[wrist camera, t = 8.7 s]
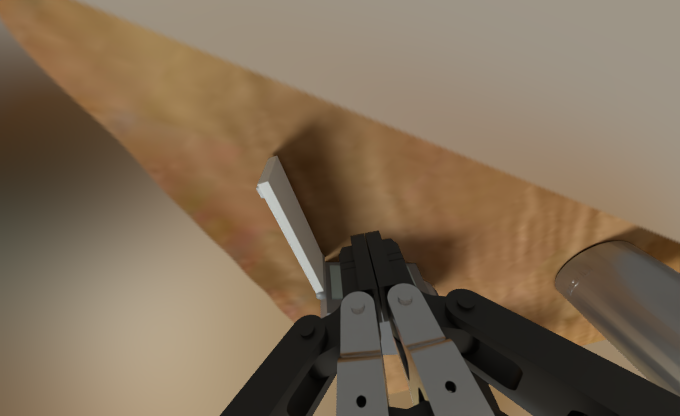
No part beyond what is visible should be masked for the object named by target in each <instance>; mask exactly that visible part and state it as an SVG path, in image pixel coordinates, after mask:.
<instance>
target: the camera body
mask: <svg viewBox="0 0 680 416" xmlns="http://www.w3.org/2000/svg"><path fill="white" fill-rule="evenodd" d="M406 266H407V268H408V271H409V273H410V275H411V278H412V280H413V282H414V284H415V286H416V287H417V288H418V289H419V290H421V291H422V292H424V293H426V294H430V295H435V296H439V295H438V293H437V291H436V290H435V289H434V288H433V287H432V285H431V284H430V283H429V282H426V281H424V280H423V278H422V276H421V274H420V272H419V270H418V268H417V266H416V264H415V263H406ZM325 272H326V292H327V297H326V298H325V299H321V319H322V318H323V317H325V316H327V315H329V314H331V313H333V312H334V311H335V310H337V308H338V307H339V306H340V304H341V302H342V298H343V293H342V283H341V272H340V262H325ZM380 308H381V307H380ZM381 314H382V311H381ZM382 321H383V322H382V323H379V324H380V330H381V346H382V353H383V355H393V354H398V353H397V350H396V347H395V344H394V341H393V338H392V330H391V326H390V323H389V321H387V322H384V319H383V315H382Z"/></svg>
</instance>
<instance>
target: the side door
mask: <svg viewBox="0 0 680 416" xmlns="http://www.w3.org/2000/svg"><path fill="white" fill-rule="evenodd" d="M257 185H258V186H257V188H256V189H257V191H258V192H259V194H260V196H261V198H265V200H266V202H267V203H268V205H269V207H270V209H271V211H272V213H273V215H274V216H275V218H276V220H277V222H278V224H279V226H280V228H281V229H282V231H283V233H284V235H285V237H286V239H287V240H288V242H289V244H290V246H291V248H292V250H293V252H294V253H295V255H296V257H297V259H298V261H299V263H300V265H301V266H302V268H303V270H304V272H305V274H306V276H307V277H308V279H309V281H310V283H311V285H312V287H313V289H314V290H315V292H316V297H317V299H325V298H326V297H327V292H326V272H325V256H324V255H323V254H322V253H321V251H320V248H319V246H318V244H317V242H316V240H315V238H314V235H313V233H312V231H311V229H310V227H309V224H308V222H307V220H306V218H305V216H304V213H303V211H302V209H301V207H300V205H299V202H298V200H297V198H296V196H295V194H294V191H293V189H292V187H291V185H290V183H289V180H288V178H287V176H286V174H285V172H284V170H283V167H282V165H281V163H280V161H279V159H278V156H274V157H271V158H269V159H268V161H267V163H266V166H265V168H264V170H263V173H262V175H261V177H260V179H259V182H258V184H257Z"/></svg>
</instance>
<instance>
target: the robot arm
mask: <svg viewBox="0 0 680 416" xmlns="http://www.w3.org/2000/svg"><path fill="white" fill-rule="evenodd" d="M350 237H351V243H352V246H348V247H342V249H341V251H340V254H339V262H340V272H341V283H342V293H343V298H342V302H341V304H340V306H339V307H338V308H337V310H335V311H334V312H333V313H331V314H329V315H327V316H325V317H323V318H322V319H321V318H320V317H319V316H316V315H306V316H304V317H301V318H300V319H299V320H297V321H296V322H295V323H294V325H293V326H292V327H291V328H290V330H289V331H288V332H287V333H286V335H285V336H284V337H283V338H282V339H281V341H280V342H279V343H278V344H277V346H276V347H275V348H274V349H273V351H272V352H271V353H270V354H269V356H268V357H267V358H266V359H265V360H264V362H263V363H262V364H261V365H260V367H259V368H258V369H257V370H256V372H255V373H254V374H253V375H252V376H251V378H250V379H249V380H248V382H247V383H246V384H245V385H244V387H243V388H242V389H241V390H240V391H239V393H238V394H237V395H236V396H235V397H234V399H233V400H232V401H231V402H230V404H229V405H228V406H227V407H226V409H225V410H224V411H223V412H222V414H221V415H220V416H313V414H314V412H315V410H316V409H317V407H318V405H319V404H320V402H321V400H322V398H323V397H324V395H325V393H326V392H327V390H328V388H329V386H330V385H331V383H332V381H333V379H334V378H335V376H336V374H337V406H336V407H337V408H336V413H337V414H336V416H508V415H507V414H505V413H504V412H502V411H500V410H499V409H497V408H495V407H493V406H491V405H489V404H488V402H487V401H486V399H485V397H484V395H483V393H482V392H481V390H480V388H479V386H478V384H477V383H476V381H475V379H474V377H473V375H472V374H471V372H470V370H471V371H472V372H474V373H475V374H476V375H478V376H479V377H481V378H482V379H483V380H485V381H486V382H487V383H489V384H490V385H492V386H493V387H494V388H496V389H497V390H498V391H500V392H501V393H503V394H504V395H505V396H507V397H508V398H509V399H511V400H512V401H514V402H515V403H516V404H518V405H519V406H521V407H522V408H523V409H525V410H526V411H527V412H529V413H530V414H531V415H533V416H680V273H678V272H677V271H675V270H674V269H672V268H670V267H669V266H667V265H666V264H664V263H662V262H661V261H659V260H657V259H656V258H654V257H652V256H651V255H649V254H647V253H646V252H644V251H642V250H641V249H639V248H638V247H636V246H634V245H633V244H631V243H629V242H625V241H612V242H606V243H603V244H599V245H597V246H594V247H592V248H589V249H587V250H586V251H584V252H582V253H580V254H579V255H577V256H576V257H574V258H573V259H572V260H570V261H569V262H568V263H567V264H566V265H565V266H564V267H563V268H562V269H561V270H560V272H559V273H558V275H557V277H556V280H555V287H556V289H557V290H558V291H559V292H560V293H561V294H562V295H563V296H564V297H565V298H566V299H567V300H568V301H569V302H570V303H571V304H572V305H573V306H574V307H575V308H576V309H577V310H578V311H579V312H580V313H581V314H582V315H583V316H584V317H585V318H586V319H587V320H588V321H589V322H590V323H591V324H592V325H593V326H594V327H595V328H596V329H597V330H598V331H599V332H600V333H601V334H602V335H603V336H604V337H605V338H606V339H607V340H608V341H609V342H610V343H611V344H612V345H613V346H614V347H615V348H616V349H617V350H618V351H619V352H620V353H621V354H622V355H623V356H624V357H625V358H626V359H627V360H628V361H629V362H630V363H631V364H632V365H633V366H635V368H637V369H638V370H639V371H640V372H641V373H642V374H643V375H644V376H645V377H646V378H647V379H648V380H649V381H648V380H646V379H644V378H642V377H640V376H638V375H636V374H634V373H632V372H630V371H628V370H626V369H624V368H622V367H620V366H618V365H617V364H615V363H613V362H611V361H609V360H607V359H605V358H602V357H601V356H598V355H597V354H595V353H593V352H591V351H589V350H587V349H585V348H583V347H581V346H579V345H577V344H575V343H573V342H571V341H569V340H567V339H565V338H563V337H561V336H559V335H557V334H556V333H554V332H552V331H550V330H548V329H546V328H544V327H542V326H540V325H538V324H536V323H534V322H532V321H530V320H528V319H526V318H524V317H522V316H520V315H518V314H516V313H514V312H512V311H510V310H508V309H506V308H504V307H502V306H500V305H498V304H496V303H495V302H493V301H491V300H489V299H487V298H485V297H483V296H481V295H479V294H477V293H475V292H473V291H470V290H467V289H456V290H453V291H451V292H449V293H448V295H447V296H446V297H445V296H435V295H430V294H426V293H424V292H422V291H421V290H419V289H418V288H417V287H416V286H415V284H414V282H413V280H412V278H411V275H410V273H409V271H408V268H407V266H406V263H405V261H404V259H403V256H402V254H401V251H400V249H399V247H398V244H397V243H396V242H394V241H393V240H392V239H391V238H390V239H385V240H382V239H381V236H380V233H379V231H374V232H368V233H365V236H364V233H363V234H358V235H353V236H350ZM365 238H366V240H365ZM380 307H381V308H380ZM381 311H382V314H381ZM382 315H383V319H384V322H387V321H389V323H390V326H391V330H392V338H393V341H394V344H395V347H396V350H397V353H398V356H399V359H400V362H401V365H402V368H403V371H404V373H405V376H406V379H407V382H408V386H409V389H410V393H411V398H412V401H413V405H414V406H413V407H411V408H409V409H402V408H395V407H390V403H389V396H388V389H387V382H386V375H385V368H384V360H383V353H382V346H381V330H380V324H379V323H382V322H383V321H382ZM469 369H470V370H469Z"/></svg>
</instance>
